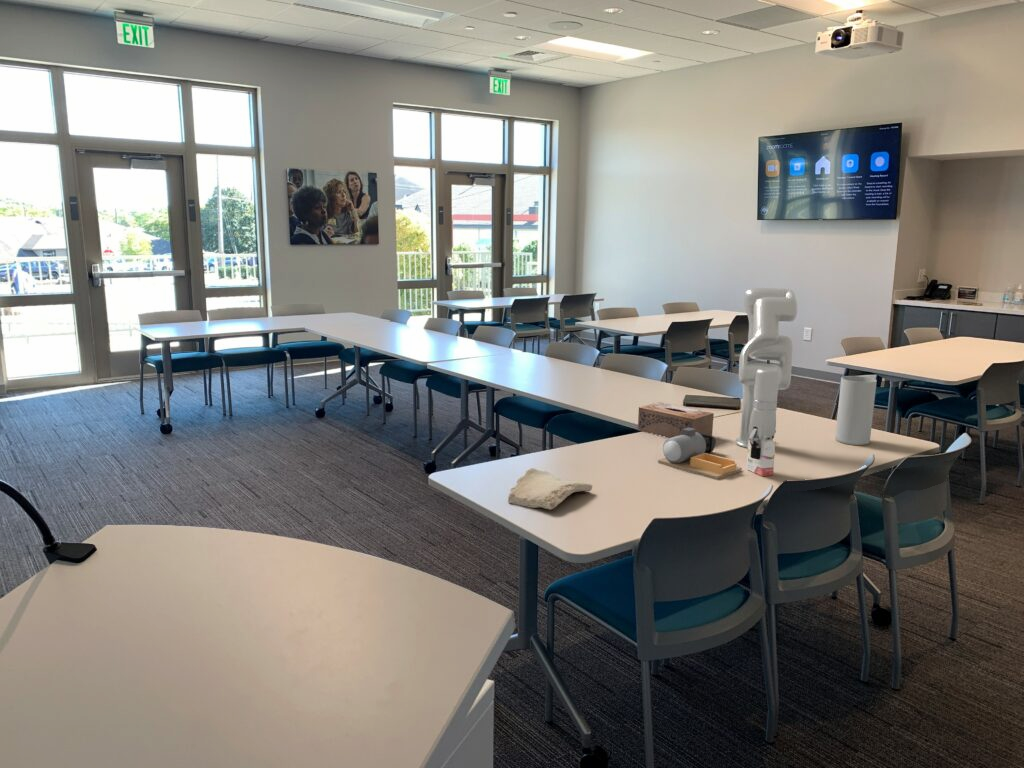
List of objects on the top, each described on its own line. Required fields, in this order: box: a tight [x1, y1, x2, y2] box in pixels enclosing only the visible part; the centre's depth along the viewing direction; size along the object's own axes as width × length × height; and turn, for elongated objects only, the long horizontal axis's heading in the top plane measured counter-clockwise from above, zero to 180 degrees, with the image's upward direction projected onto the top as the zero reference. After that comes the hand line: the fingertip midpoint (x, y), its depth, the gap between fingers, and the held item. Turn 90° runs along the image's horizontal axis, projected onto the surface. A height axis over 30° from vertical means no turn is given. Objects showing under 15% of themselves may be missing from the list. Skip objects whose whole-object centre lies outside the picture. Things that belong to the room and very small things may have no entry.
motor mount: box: [657, 427, 743, 480], centre depth 261 cm, size 15×24×12 cm, turn 42°
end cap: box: [701, 434, 717, 454], centre depth 280 cm, size 10×7×7 cm
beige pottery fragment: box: [507, 467, 593, 510], centre depth 231 cm, size 24×8×20 cm
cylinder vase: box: [834, 375, 877, 446], centre depth 294 cm, size 12×12×25 cm
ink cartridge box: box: [745, 434, 776, 477], centre depth 256 cm, size 9×5×15 cm, turn 21°
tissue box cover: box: [637, 401, 715, 439], centre depth 304 cm, size 26×14×10 cm, turn 44°
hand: (760, 456), depth 256 cm, fingers closed on ink cartridge box, 6 cm apart
